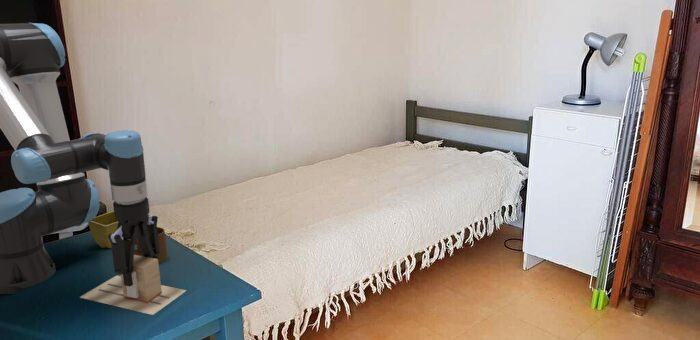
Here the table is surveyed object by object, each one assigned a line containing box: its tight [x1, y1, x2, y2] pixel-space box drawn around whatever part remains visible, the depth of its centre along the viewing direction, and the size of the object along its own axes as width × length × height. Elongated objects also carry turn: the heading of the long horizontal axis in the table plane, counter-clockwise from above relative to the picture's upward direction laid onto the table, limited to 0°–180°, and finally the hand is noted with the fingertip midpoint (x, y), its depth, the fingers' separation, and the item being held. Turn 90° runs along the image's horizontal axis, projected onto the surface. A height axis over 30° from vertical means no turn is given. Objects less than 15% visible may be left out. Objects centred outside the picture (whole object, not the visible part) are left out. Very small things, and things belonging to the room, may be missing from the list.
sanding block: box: [120, 255, 162, 303], centre depth 129 cm, size 7×5×9 cm
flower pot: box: [87, 210, 118, 249], centre depth 160 cm, size 9×9×9 cm
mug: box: [128, 226, 169, 265], centre depth 147 cm, size 12×8×9 cm, turn 134°
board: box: [79, 275, 187, 316], centre depth 132 cm, size 22×12×1 cm, turn 69°
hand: (141, 290), depth 130 cm, fingers closed on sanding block, 5 cm apart
